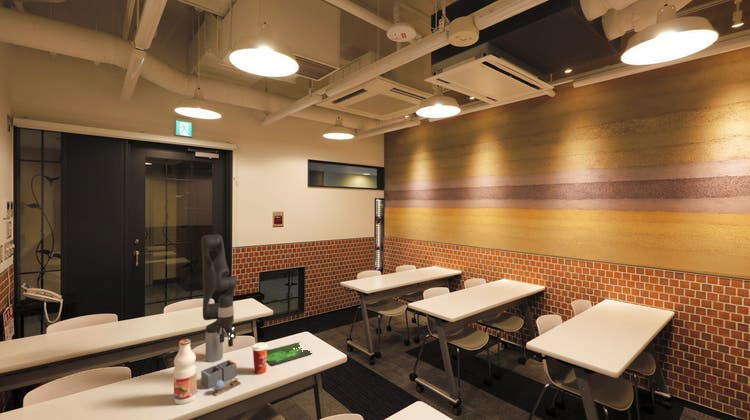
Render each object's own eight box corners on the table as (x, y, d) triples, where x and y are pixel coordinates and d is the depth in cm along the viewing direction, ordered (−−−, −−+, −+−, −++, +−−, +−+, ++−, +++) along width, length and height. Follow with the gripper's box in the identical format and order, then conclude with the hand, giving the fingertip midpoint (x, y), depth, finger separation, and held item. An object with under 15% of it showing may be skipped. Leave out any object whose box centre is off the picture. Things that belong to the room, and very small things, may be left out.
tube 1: (201, 384, 167) (201, 370, 167) (215, 378, 173) (214, 365, 173) (208, 389, 163) (208, 375, 163) (222, 382, 169) (222, 369, 169)
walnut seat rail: (212, 393, 159) (212, 390, 159) (237, 382, 169) (237, 378, 169) (215, 396, 157) (215, 392, 157) (240, 384, 168) (240, 380, 168)
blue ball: (212, 389, 160) (212, 381, 159) (221, 385, 163) (221, 377, 163) (217, 393, 157) (217, 384, 157) (225, 388, 160) (225, 380, 160)
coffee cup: (263, 376, 175) (262, 348, 175) (249, 374, 177) (249, 347, 177) (271, 368, 183) (270, 342, 183) (257, 367, 185) (257, 341, 185)
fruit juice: (199, 398, 155) (199, 340, 155) (178, 407, 148) (177, 347, 148) (192, 390, 161) (191, 335, 161) (171, 399, 154) (170, 341, 154)
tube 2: (216, 377, 174) (216, 364, 174) (229, 372, 180) (229, 359, 180) (223, 382, 170) (223, 368, 169) (236, 376, 175) (236, 363, 175)
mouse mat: (300, 342, 219) (300, 340, 219) (314, 354, 201) (314, 352, 201) (259, 353, 203) (259, 351, 203) (270, 367, 185) (270, 365, 185)
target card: (212, 387, 164) (211, 387, 164) (234, 377, 174) (234, 377, 174) (216, 390, 162) (216, 389, 162) (238, 379, 172) (238, 379, 172)
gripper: (212, 313, 175) (212, 343, 175) (226, 319, 166) (226, 350, 167) (225, 309, 181) (225, 338, 181) (239, 315, 172) (240, 345, 173)
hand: (226, 344), depth 174 cm, fingers open, 8 cm apart
